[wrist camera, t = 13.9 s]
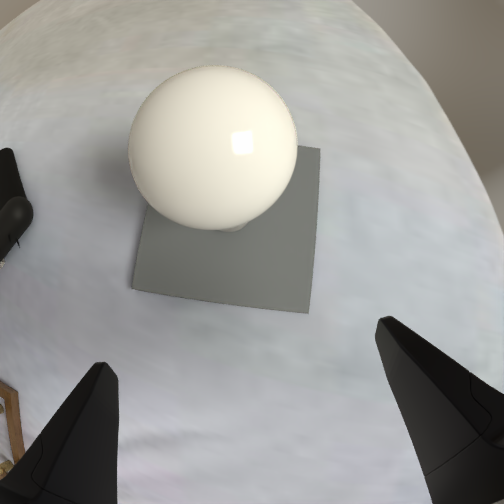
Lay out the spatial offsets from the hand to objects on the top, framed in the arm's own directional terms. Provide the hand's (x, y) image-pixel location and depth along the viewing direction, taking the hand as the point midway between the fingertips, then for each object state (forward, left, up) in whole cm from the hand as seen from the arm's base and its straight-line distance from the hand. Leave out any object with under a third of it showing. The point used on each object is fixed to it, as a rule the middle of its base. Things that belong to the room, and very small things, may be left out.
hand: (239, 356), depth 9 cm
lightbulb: (+7, +2, -9) cm, 11 cm away
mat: (+7, +2, -9) cm, 12 cm away
